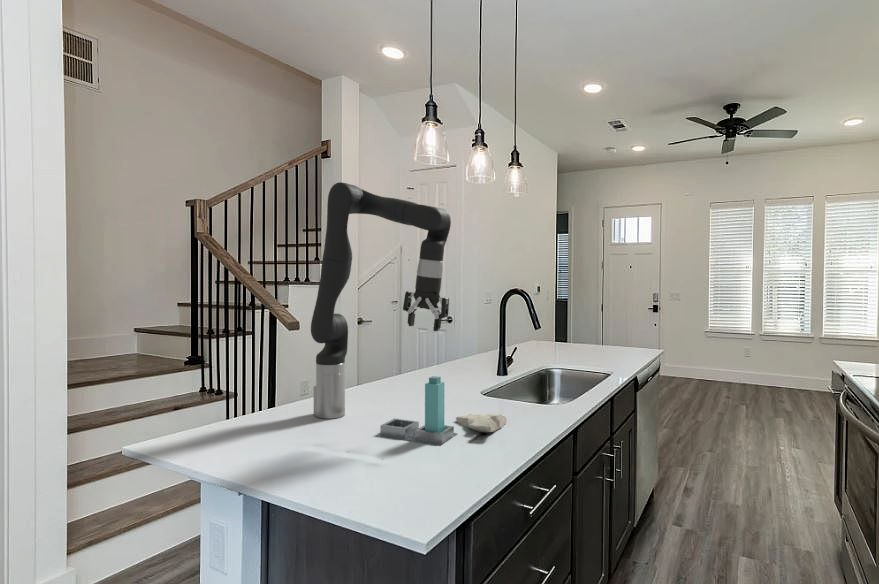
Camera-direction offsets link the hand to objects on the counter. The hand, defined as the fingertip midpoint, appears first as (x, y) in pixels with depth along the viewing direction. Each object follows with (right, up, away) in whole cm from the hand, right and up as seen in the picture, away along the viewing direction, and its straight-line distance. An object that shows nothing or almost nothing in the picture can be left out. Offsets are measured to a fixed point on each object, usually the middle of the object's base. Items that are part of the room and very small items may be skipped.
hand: (423, 328), depth 157 cm
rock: (+17, -31, 0) cm, 35 cm away
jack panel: (-1, -30, -11) cm, 32 cm away
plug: (+4, -29, -13) cm, 32 cm away
